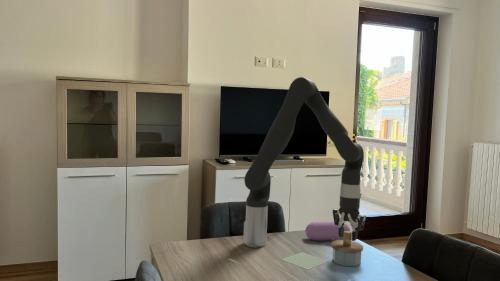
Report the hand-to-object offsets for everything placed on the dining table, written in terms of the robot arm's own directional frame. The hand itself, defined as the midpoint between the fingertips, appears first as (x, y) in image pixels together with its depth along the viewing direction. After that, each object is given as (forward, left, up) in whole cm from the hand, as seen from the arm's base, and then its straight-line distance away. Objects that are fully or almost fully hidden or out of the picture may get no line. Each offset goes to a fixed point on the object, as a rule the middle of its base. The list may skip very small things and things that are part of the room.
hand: (347, 238), depth 157 cm
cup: (0, 0, -10) cm, 10 cm away
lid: (0, 0, -4) cm, 4 cm away
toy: (-21, +17, -10) cm, 29 cm away
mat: (-11, -12, -10) cm, 19 cm away
